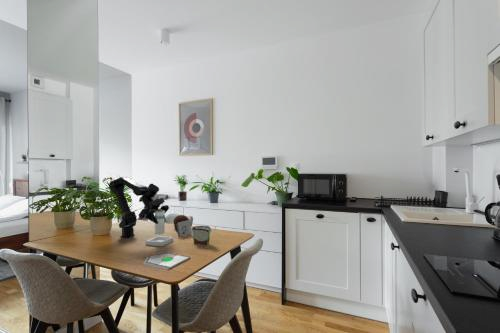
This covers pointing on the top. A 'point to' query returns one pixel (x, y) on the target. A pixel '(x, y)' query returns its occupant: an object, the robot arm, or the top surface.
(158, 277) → the top surface
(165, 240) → the tray
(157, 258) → the white flat slab
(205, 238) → the food container
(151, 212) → the robot arm
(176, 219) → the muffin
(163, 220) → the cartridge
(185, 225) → the electrical switch
